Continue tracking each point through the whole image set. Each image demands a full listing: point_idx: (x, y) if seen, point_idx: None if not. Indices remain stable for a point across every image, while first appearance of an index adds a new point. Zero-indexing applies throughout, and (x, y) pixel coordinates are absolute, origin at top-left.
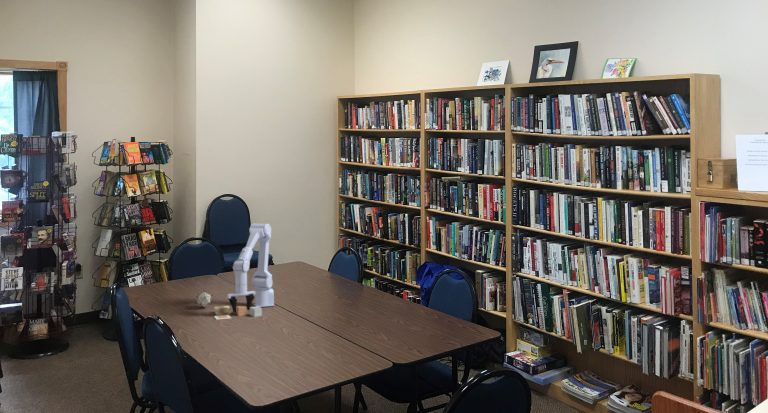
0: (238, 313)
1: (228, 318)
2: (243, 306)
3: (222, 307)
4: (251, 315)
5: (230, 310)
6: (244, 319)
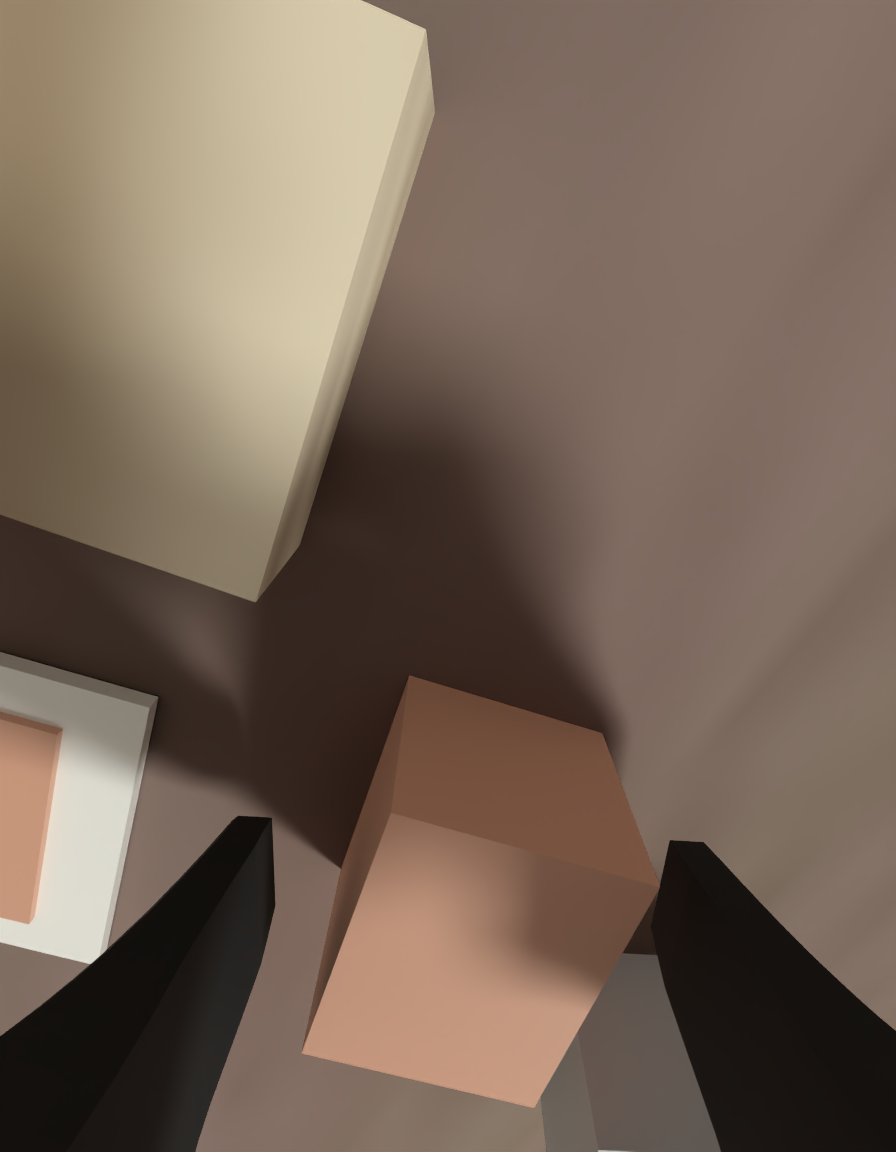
0: (336, 899)
1: (50, 937)
2: (545, 972)
3: (52, 209)
4: None
5: (273, 572)
6: (285, 1135)
